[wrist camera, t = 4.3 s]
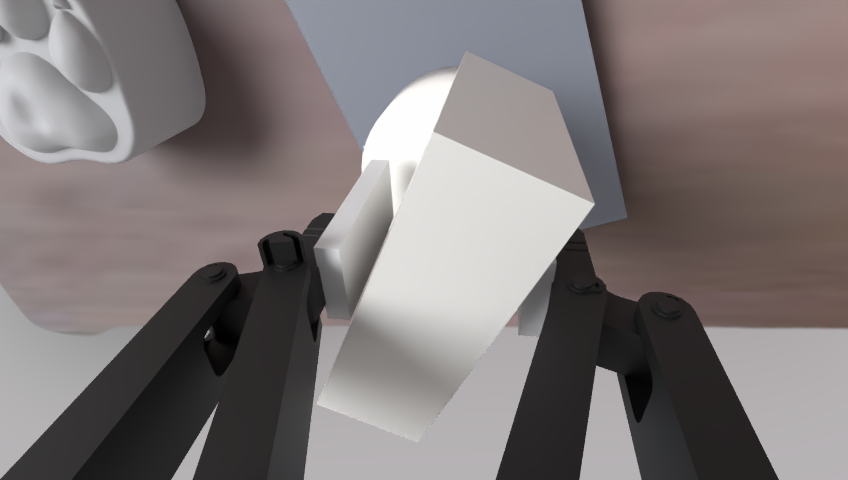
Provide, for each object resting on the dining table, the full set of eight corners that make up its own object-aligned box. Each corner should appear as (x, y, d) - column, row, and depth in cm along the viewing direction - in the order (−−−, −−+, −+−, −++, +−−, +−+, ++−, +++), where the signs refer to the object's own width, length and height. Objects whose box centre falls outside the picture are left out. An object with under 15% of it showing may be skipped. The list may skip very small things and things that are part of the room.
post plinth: (546, -139, 21) (565, -183, 15) (620, 203, 30) (653, 272, 24) (298, -4, 26) (228, 8, 20) (425, 255, 35) (407, 324, 29)
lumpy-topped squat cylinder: (99, 129, 34) (-11, 175, 26) (-1, -78, 27) (-187, -90, 19) (220, 126, 32) (138, 175, 25) (147, -96, 25) (3, -117, 18)
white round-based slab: (419, 13, 18) (318, 80, 8) (595, 96, 19) (696, 249, 9) (345, 224, 25) (239, 404, 15) (479, 280, 25) (463, 488, 15)
